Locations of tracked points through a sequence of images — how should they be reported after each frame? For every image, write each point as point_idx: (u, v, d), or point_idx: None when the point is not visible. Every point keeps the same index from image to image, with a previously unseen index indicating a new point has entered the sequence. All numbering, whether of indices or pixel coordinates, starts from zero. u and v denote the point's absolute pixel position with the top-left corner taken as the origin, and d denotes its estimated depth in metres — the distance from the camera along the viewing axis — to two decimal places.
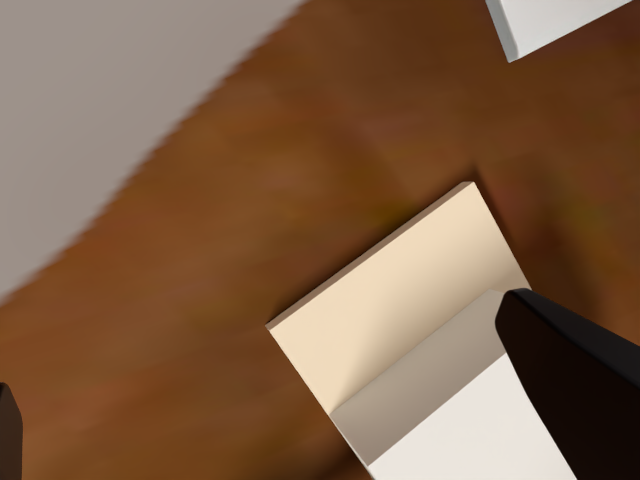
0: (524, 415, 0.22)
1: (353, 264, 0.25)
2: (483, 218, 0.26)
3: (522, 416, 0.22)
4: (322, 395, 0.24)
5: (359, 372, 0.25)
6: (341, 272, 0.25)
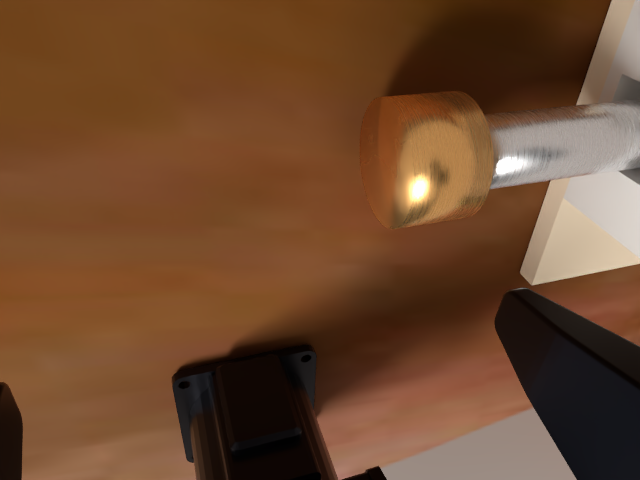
0: None
1: None
2: None
3: None
4: None
5: None
6: None
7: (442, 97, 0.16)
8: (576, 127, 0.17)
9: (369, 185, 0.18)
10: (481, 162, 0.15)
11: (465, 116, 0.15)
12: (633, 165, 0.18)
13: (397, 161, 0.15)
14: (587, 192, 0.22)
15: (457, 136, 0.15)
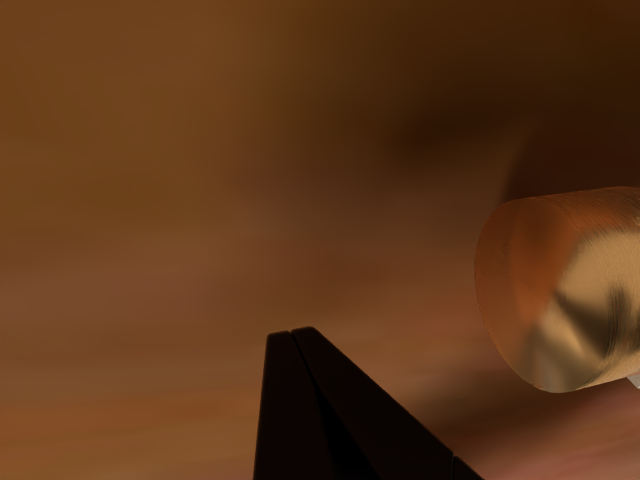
0: None
1: None
2: None
3: None
4: None
5: None
6: None
7: (631, 204, 0.10)
8: None
9: (491, 309, 0.12)
10: None
11: None
12: None
13: (565, 303, 0.10)
14: None
15: None
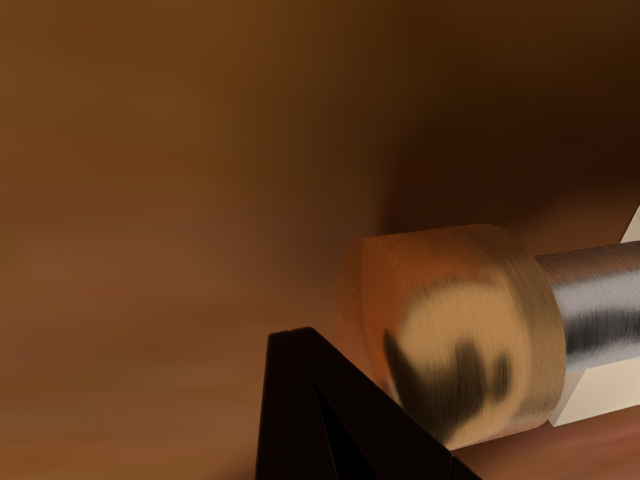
0: None
1: None
2: None
3: None
4: None
5: None
6: None
7: (478, 248, 0.09)
8: None
9: (349, 356, 0.11)
10: (546, 375, 0.08)
11: (520, 291, 0.09)
12: None
13: (397, 362, 0.09)
14: None
15: (507, 332, 0.08)
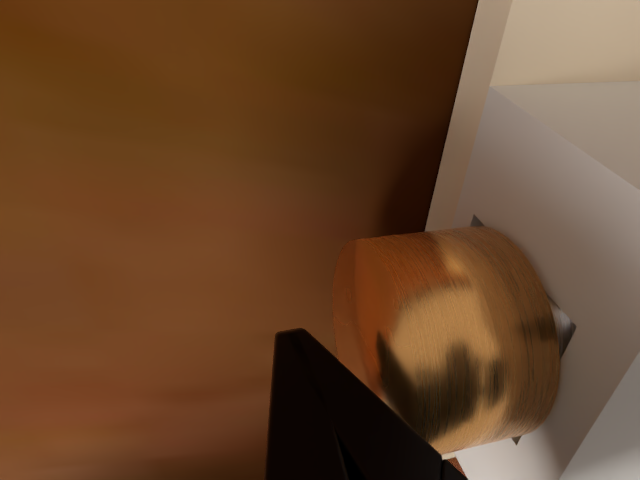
0: None
1: None
2: None
3: None
4: (518, 30, 0.09)
5: (608, 42, 0.10)
6: None
7: (472, 251, 0.09)
8: None
9: (345, 358, 0.11)
10: (538, 380, 0.08)
11: (513, 295, 0.08)
12: None
13: (389, 364, 0.09)
14: None
15: (498, 336, 0.08)
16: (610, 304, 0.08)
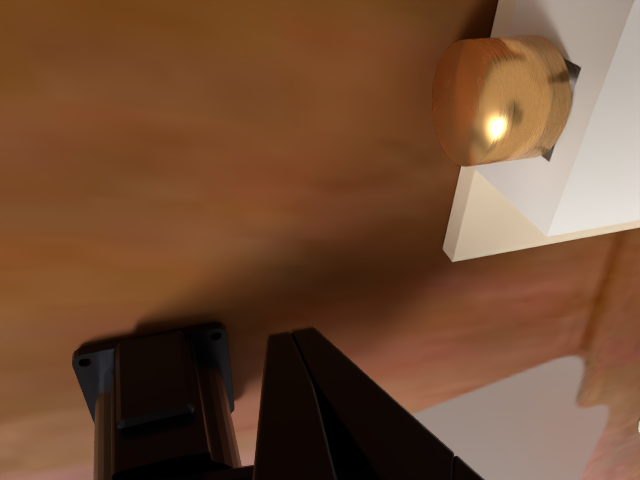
0: None
1: None
2: None
3: None
4: None
5: None
6: None
7: (521, 39, 0.17)
8: None
9: (442, 128, 0.19)
10: (559, 98, 0.16)
11: (544, 55, 0.16)
12: None
13: (479, 99, 0.16)
14: None
15: (538, 73, 0.16)
16: (597, 44, 0.15)
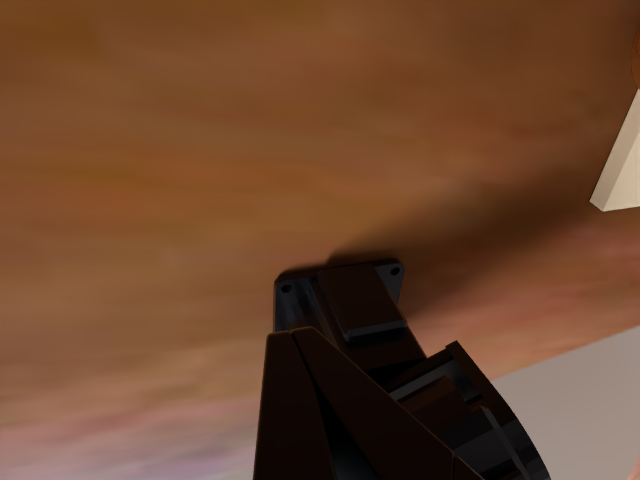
0: None
1: None
2: None
3: None
4: None
5: None
6: None
7: None
8: None
9: None
10: None
11: None
12: None
13: None
14: None
15: None
16: None
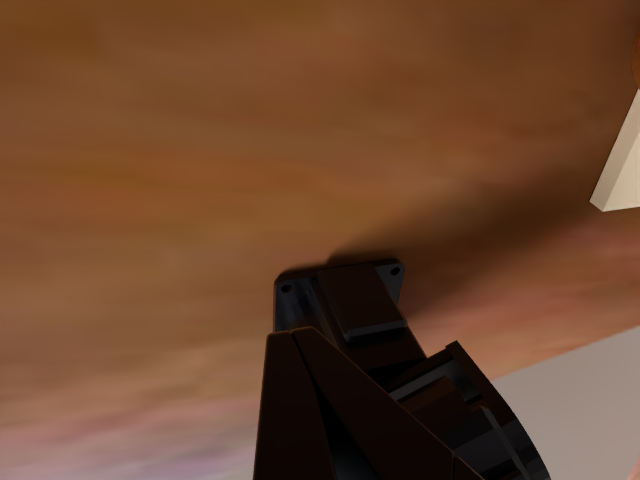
0: None
1: None
2: None
3: None
4: None
5: None
6: None
7: None
8: None
9: None
10: None
11: None
12: None
13: None
14: None
15: None
16: None
